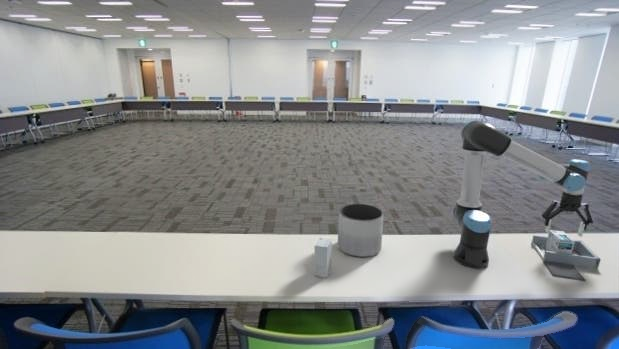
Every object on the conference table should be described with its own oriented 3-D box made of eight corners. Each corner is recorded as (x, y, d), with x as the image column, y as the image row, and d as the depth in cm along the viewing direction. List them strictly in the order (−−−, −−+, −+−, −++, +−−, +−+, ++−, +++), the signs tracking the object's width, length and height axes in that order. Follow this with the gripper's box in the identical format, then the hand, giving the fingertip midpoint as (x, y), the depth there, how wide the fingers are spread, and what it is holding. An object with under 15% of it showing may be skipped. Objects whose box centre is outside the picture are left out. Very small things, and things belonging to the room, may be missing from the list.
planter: (373, 236, 180) (375, 202, 174) (387, 257, 159) (390, 219, 153) (333, 238, 177) (334, 204, 171) (343, 260, 156) (344, 222, 150)
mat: (552, 275, 145) (553, 274, 145) (543, 261, 156) (543, 260, 156) (585, 280, 142) (585, 279, 142) (572, 266, 153) (573, 265, 153)
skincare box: (326, 278, 142) (327, 248, 138) (313, 276, 144) (314, 245, 139) (331, 268, 150) (332, 238, 145) (318, 266, 151) (319, 236, 147)
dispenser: (543, 261, 157) (546, 251, 156) (531, 243, 174) (533, 234, 172) (597, 268, 151) (600, 259, 149) (579, 249, 168) (581, 240, 166)
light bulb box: (570, 261, 157) (575, 240, 154) (554, 259, 159) (559, 239, 156) (559, 250, 167) (563, 230, 164) (544, 248, 169) (548, 229, 166)
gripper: (544, 192, 154) (536, 233, 160) (609, 198, 147) (597, 240, 153) (539, 187, 161) (531, 227, 167) (600, 192, 153) (590, 233, 159)
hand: (563, 233), depth 160 cm, fingers open, 13 cm apart
